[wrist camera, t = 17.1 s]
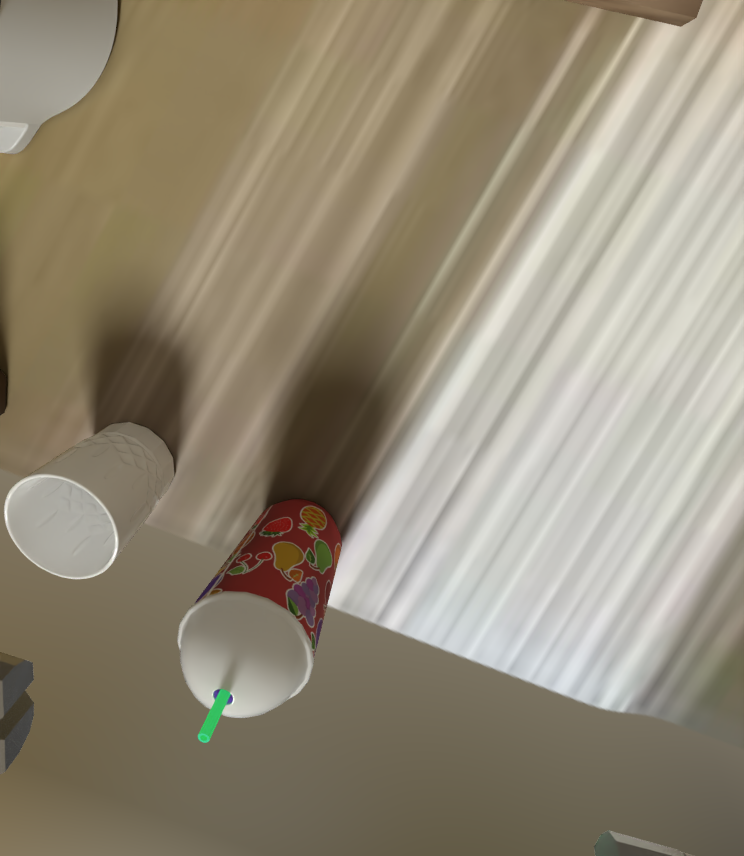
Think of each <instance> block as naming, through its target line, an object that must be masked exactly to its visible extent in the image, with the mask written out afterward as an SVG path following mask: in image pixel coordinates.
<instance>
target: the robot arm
mask: <svg viewBox="0 0 744 856" xmlns="http://www.w3.org/2000/svg"><path fill="white" fill-rule="evenodd" d="M117 7H118V1H117V0H0V152H1V153H8V154H16V153H19V152H20V151H22V150H23V149H24V148H25V147H26V146H27V145H28V143H29V142H30V141H31V139H32V138H33V136H34V135H35V133H36V132H37V130H38V129H39V127H40V126H41V124H42V123H44V122H45V121H46V120H48V119H49V118H51V117H53V116H55V115H57V114H59V113H61V112H63V111H65V110H67V109H68V108H70V107H72V106H73V105H74V104H76V103H77V102H78V101H80V100H81V99H82V98H83V97H84V96H85V95H86V94H87V93H88V92H89V91H90V90H91V88H92V87H93V86H94V84H95V83H96V82H97V80H98V78H99V77H100V75H101V73H102V71H103V69H104V68H105V65H106V63H107V61H108V58H109V55H110V52H111V49H112V45H113V42H114V37H115V31H116V24H117ZM33 677H34V676H33V663H32V662H30V661H27V660H24V659H21V658H17V657H15V656H11V655H8V654H5V653H2V652H0V774H2V773H4V772H5V771H6V770H7V769H8V767H9V766H10V764H11V763H12V762H13V760H14V759H15V758H16V756H17V755H18V754H19V752H20V750H21V748H22V746H23V744H24V742H25V740H26V738H27V736H28V734H29V732H30V728H31V724H32V720H33V716H34V702H33V701H32V700H31V698H30V697H29V695H28V694H27V693H26V691H25V690H26V689H27V687H28V686H29V685H30V684H31V683H32V681H33V680H34V678H33ZM594 849H595V855H596V856H694V855H690V854H687V853H681V852H680V851H679V850H676V849H673V848H669V847H666V846H662V845H658V844H655V843H651V842H647V841H644V840H640V839H637V838H633V837H629V836H626V835H623V834H619V833H615V832H611V831H607V832H605V833H603V834H601V836H600V837H599V839H598V841H597V843H596V844H595V846H594Z"/></svg>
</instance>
